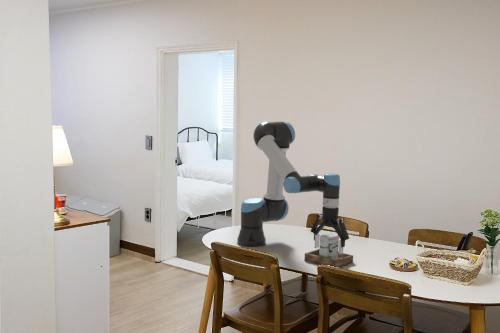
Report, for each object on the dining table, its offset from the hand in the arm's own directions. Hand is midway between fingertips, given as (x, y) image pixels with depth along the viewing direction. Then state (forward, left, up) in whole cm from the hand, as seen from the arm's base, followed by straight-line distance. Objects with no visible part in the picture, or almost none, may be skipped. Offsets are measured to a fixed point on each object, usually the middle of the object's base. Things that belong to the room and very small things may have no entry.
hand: (328, 250), depth 250 cm
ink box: (0, 0, -5) cm, 5 cm away
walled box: (0, 0, -5) cm, 5 cm away
